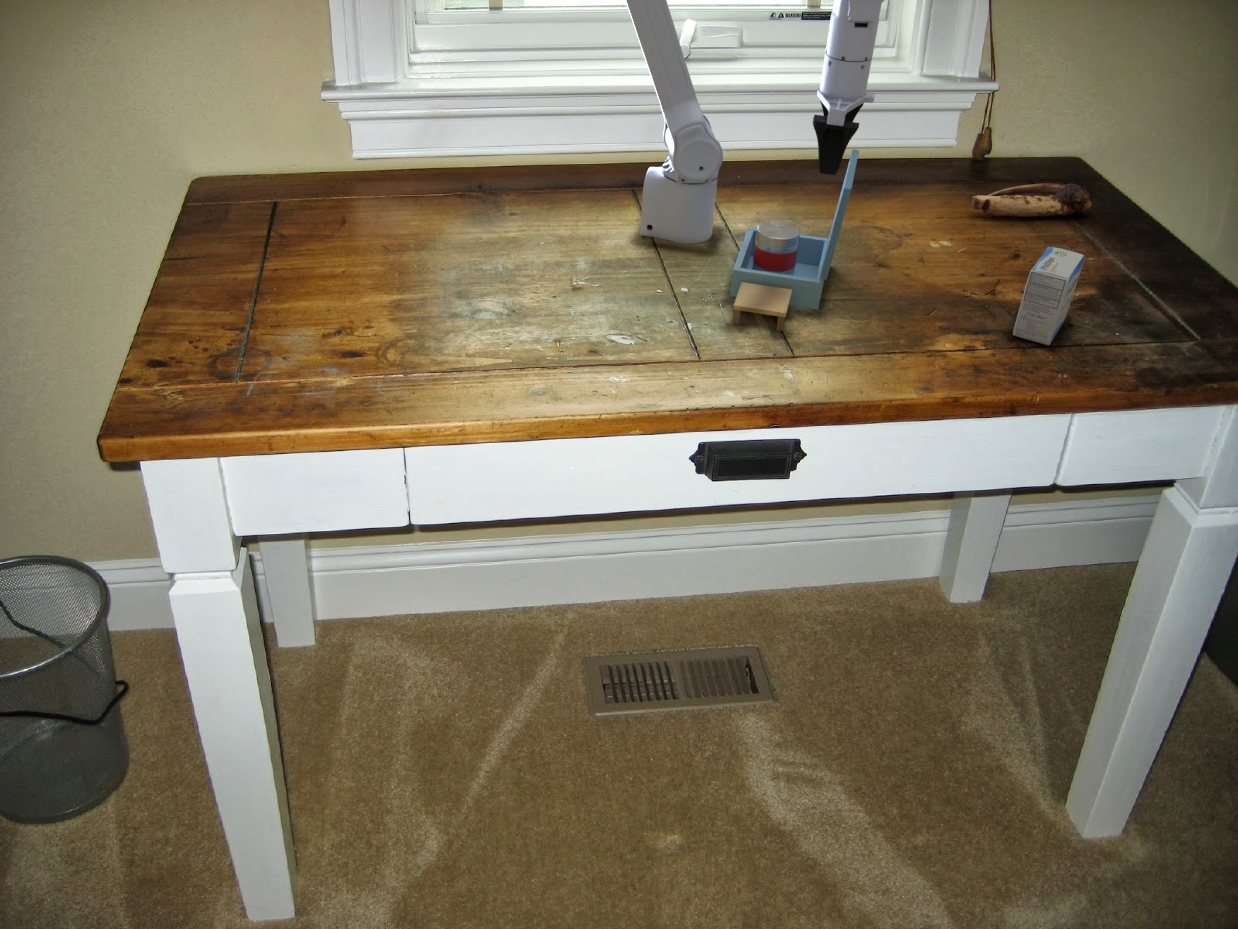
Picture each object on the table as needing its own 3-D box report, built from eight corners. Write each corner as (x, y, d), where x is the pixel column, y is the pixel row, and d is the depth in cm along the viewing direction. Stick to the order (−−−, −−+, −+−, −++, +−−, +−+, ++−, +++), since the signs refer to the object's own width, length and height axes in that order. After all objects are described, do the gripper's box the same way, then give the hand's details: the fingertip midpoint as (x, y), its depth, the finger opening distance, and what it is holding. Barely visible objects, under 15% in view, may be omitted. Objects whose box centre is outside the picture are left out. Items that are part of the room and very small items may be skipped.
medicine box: (1048, 347, 124) (1070, 279, 119) (1010, 336, 125) (1030, 268, 120) (1065, 320, 129) (1087, 254, 124) (1028, 309, 131) (1048, 244, 126)
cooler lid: (844, 187, 118) (851, 189, 118) (852, 148, 128) (859, 150, 128) (819, 278, 125) (826, 280, 125) (829, 234, 135) (835, 236, 135)
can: (748, 284, 132) (754, 235, 128) (754, 266, 136) (760, 217, 132) (790, 290, 131) (798, 241, 127) (795, 272, 135) (803, 223, 131)
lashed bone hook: (1065, 200, 161) (951, 198, 158) (1075, 169, 158) (959, 167, 155) (1096, 224, 153) (977, 223, 150) (1106, 192, 150) (985, 190, 148)
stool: (730, 329, 124) (733, 304, 122) (738, 305, 129) (741, 281, 127) (782, 337, 123) (786, 312, 121) (788, 313, 128) (792, 289, 126)
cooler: (728, 301, 129) (732, 269, 127) (744, 257, 139) (748, 226, 137) (816, 315, 128) (822, 282, 125) (826, 269, 137) (832, 238, 135)
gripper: (878, 75, 125) (857, 187, 133) (884, 43, 136) (864, 147, 145) (817, 68, 126) (800, 179, 134) (828, 36, 138) (812, 140, 146)
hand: (830, 162), depth 140 cm, fingers open, 7 cm apart
